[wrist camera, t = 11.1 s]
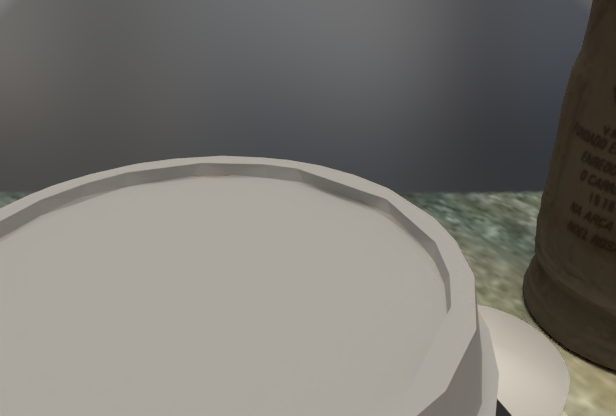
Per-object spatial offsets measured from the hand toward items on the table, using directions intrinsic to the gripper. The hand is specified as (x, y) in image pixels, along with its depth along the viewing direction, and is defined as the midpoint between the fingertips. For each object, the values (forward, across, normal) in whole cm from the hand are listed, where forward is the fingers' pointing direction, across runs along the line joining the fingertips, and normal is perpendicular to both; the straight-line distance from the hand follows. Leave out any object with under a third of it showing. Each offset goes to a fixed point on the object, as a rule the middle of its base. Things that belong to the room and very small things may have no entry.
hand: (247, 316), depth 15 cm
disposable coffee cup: (-5, 0, -7) cm, 9 cm away
